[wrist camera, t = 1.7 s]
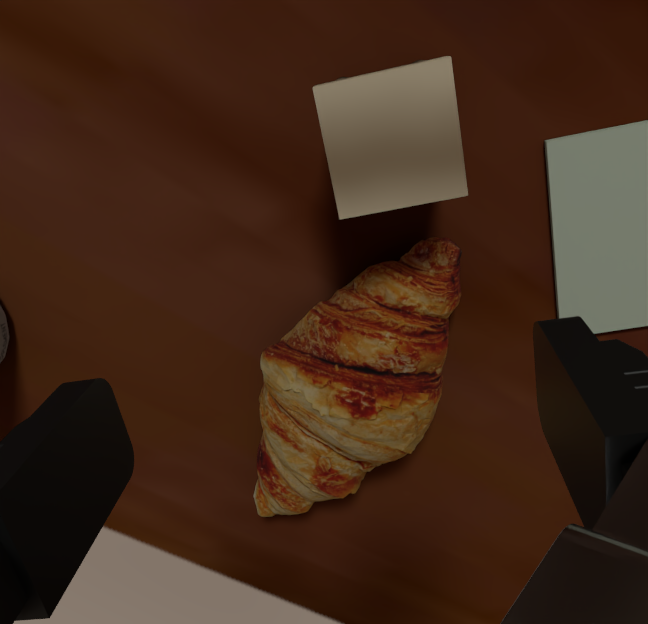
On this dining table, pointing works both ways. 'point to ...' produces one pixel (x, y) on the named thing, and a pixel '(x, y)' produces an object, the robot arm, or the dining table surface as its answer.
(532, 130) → the dining table surface
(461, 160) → the stool
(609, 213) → the mat
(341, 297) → the croissant
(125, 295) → the dining table surface
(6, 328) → the supplement can
